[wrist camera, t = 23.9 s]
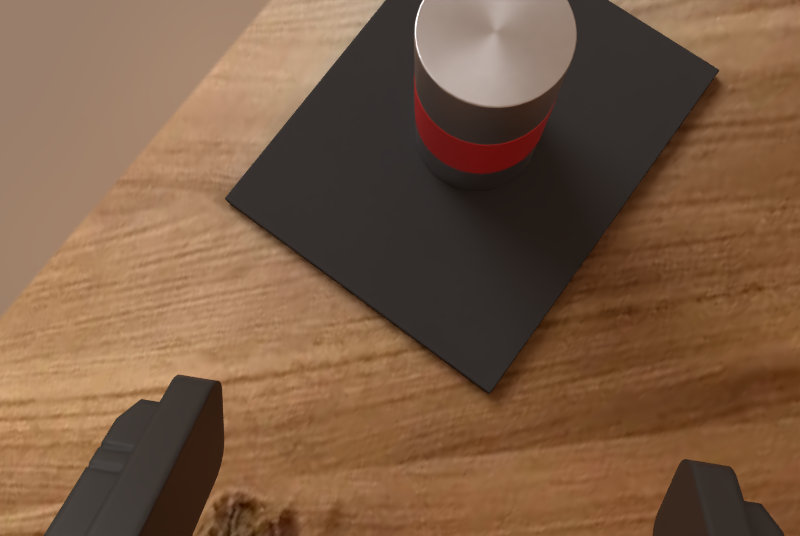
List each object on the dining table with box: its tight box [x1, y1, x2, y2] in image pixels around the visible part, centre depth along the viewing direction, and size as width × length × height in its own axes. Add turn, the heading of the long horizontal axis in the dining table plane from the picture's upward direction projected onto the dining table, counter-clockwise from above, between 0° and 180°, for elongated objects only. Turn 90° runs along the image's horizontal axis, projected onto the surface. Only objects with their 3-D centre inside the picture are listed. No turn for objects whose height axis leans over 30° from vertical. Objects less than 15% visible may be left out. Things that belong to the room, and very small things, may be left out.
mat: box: [225, 0, 719, 394], centre depth 38 cm, size 20×16×1 cm
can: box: [414, 0, 577, 191], centre depth 33 cm, size 6×6×10 cm
